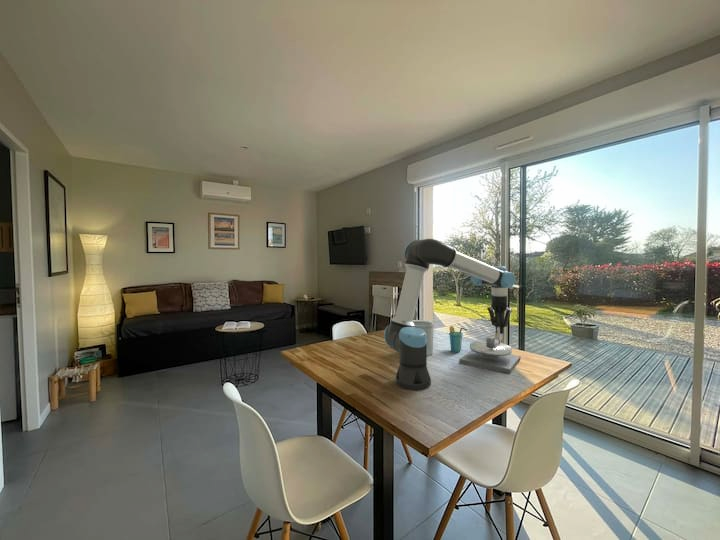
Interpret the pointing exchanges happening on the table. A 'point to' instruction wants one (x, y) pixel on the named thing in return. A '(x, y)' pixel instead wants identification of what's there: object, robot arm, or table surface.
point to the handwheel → (491, 347)
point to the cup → (455, 339)
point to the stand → (491, 361)
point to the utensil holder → (428, 329)
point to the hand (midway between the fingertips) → (499, 339)
